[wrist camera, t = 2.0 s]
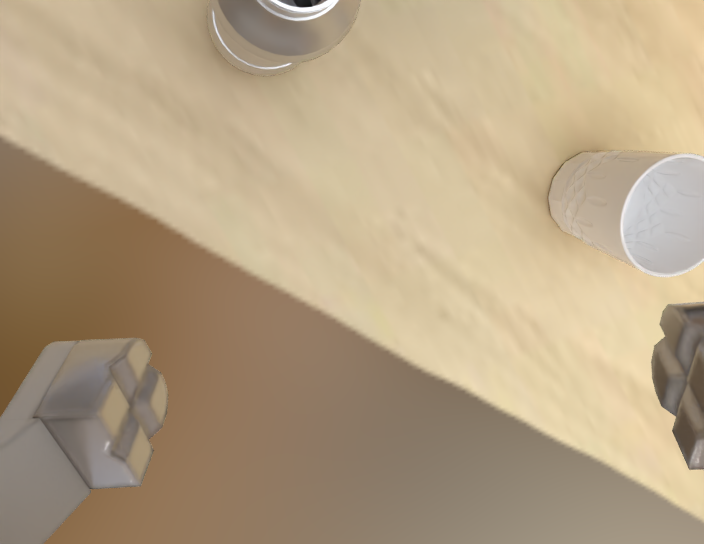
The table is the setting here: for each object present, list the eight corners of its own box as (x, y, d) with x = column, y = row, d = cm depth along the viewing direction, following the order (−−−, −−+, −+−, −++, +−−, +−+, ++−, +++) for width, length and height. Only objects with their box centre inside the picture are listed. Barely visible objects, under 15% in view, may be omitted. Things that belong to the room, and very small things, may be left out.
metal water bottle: (205, -33, 38) (193, -165, 19) (313, -25, 40) (399, -141, 21) (209, 75, 40) (200, 51, 21) (312, 79, 41) (391, 60, 22)
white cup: (589, 261, 49) (677, 299, 40) (520, 208, 47) (596, 235, 37) (650, 180, 49) (753, 200, 39) (583, 121, 46) (677, 127, 37)
